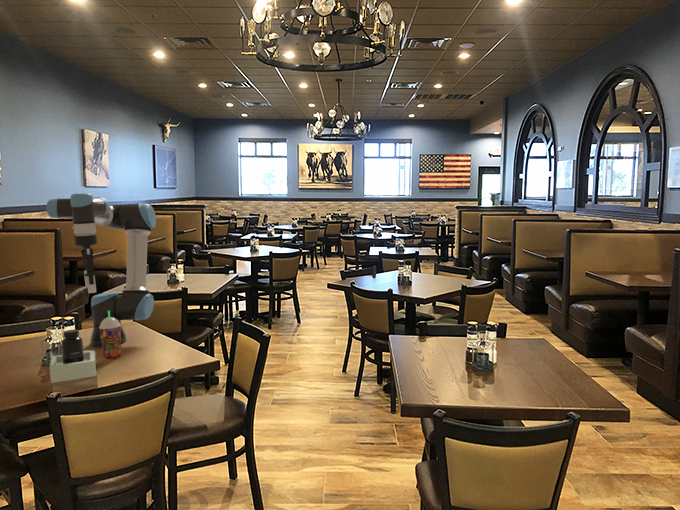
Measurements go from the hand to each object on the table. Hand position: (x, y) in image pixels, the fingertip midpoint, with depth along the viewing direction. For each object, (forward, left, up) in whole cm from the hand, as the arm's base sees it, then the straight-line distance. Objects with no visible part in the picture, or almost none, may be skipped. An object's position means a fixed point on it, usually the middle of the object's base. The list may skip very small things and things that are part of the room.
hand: (90, 289), depth 199 cm
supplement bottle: (+13, -8, -24) cm, 29 cm away
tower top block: (+13, -9, -28) cm, 32 cm away
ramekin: (-8, -5, -32) cm, 34 cm away
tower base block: (+13, -9, -33) cm, 36 cm away
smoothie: (-14, +7, -32) cm, 35 cm away
